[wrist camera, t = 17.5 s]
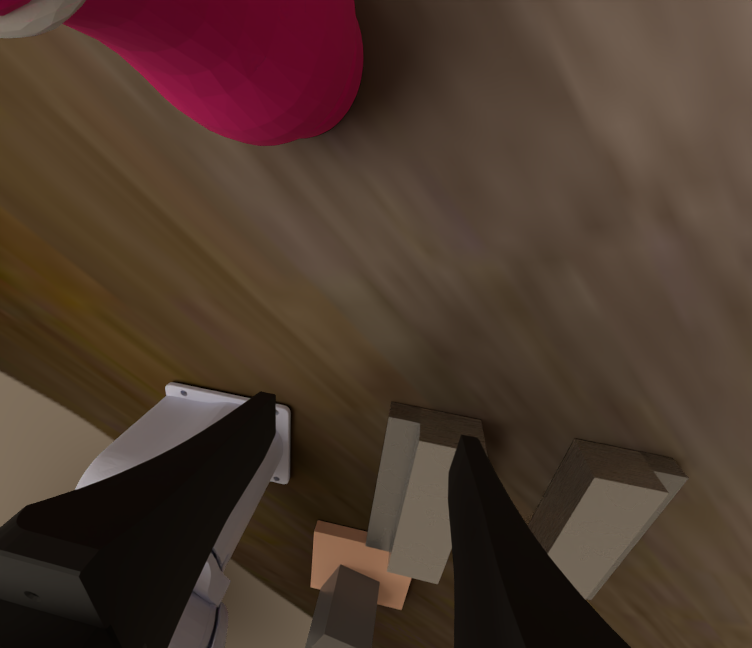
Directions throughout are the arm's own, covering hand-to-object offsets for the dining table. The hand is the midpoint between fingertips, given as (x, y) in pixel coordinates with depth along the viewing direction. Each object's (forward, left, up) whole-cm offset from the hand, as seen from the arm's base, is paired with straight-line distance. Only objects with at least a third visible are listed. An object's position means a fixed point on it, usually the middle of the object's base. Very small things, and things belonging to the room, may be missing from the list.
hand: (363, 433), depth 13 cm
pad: (+1, -24, -9) cm, 26 cm away
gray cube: (0, -27, -8) cm, 28 cm away
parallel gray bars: (+10, -12, -9) cm, 18 cm away
